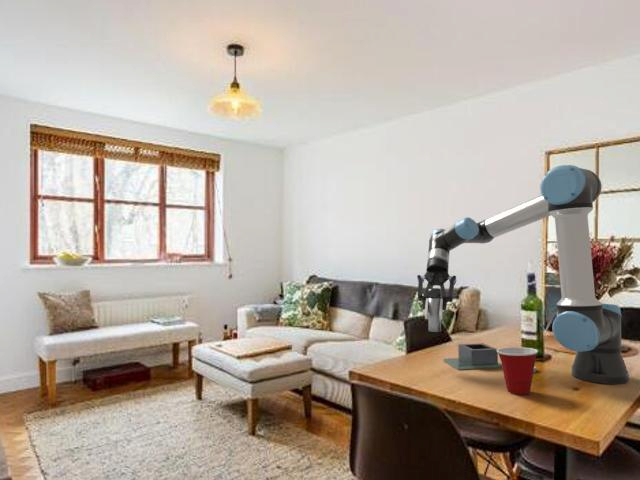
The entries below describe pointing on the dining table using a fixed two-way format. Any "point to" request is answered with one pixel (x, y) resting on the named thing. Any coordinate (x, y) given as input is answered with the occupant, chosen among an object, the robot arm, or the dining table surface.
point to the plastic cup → (518, 368)
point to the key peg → (434, 310)
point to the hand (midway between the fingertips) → (433, 316)
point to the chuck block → (475, 357)
